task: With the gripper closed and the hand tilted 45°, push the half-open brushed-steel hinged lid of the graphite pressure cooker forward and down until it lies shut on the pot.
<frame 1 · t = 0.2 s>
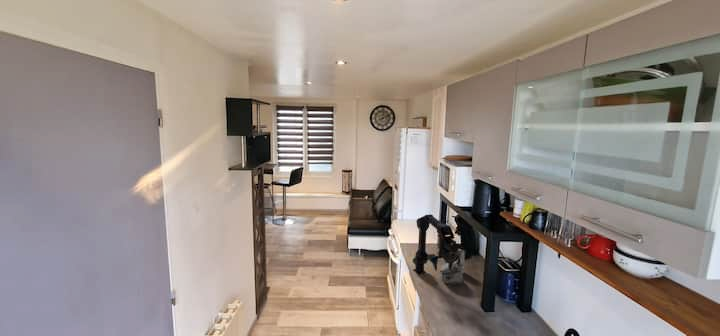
hand: (442, 270, 178), 14 cm above the countertop, tool pointing down, fingers open, 9 cm apart
cooker pot: (451, 281, 193), on the countertop
coffee box: (456, 271, 206), on the countertop
cooker lid: (448, 263, 193), point 12 cm above the countertop, hinge at 42.0°
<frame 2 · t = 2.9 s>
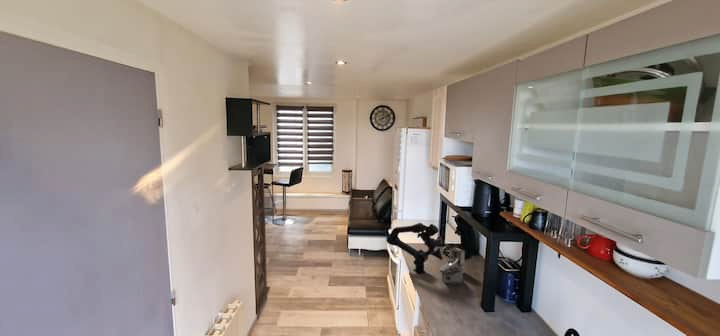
hand: (442, 259, 195), 13 cm above the countertop, tool tilted 45°, fingers closed
nothing on the countertop moved.
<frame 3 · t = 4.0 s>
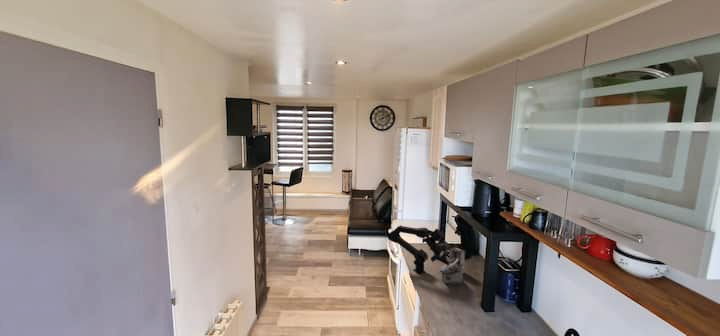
hand: (448, 264, 193), 11 cm above the countertop, tool tilted 45°, fingers closed, pressing on cooker lid
cooker lid: (448, 263, 193), point 12 cm above the countertop, hinge at 41.4°, touching gripper
everything else where it was.
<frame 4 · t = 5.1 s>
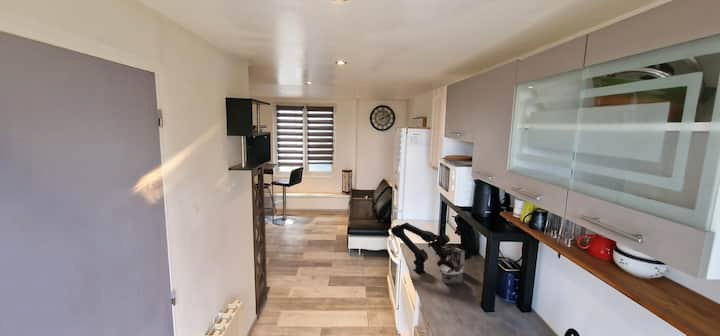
hand: (454, 269, 191), 9 cm above the countertop, tool tilted 45°, fingers closed
cooker lid: (451, 269, 192), point 9 cm above the countertop, hinge at 10.3°
everything else where it was.
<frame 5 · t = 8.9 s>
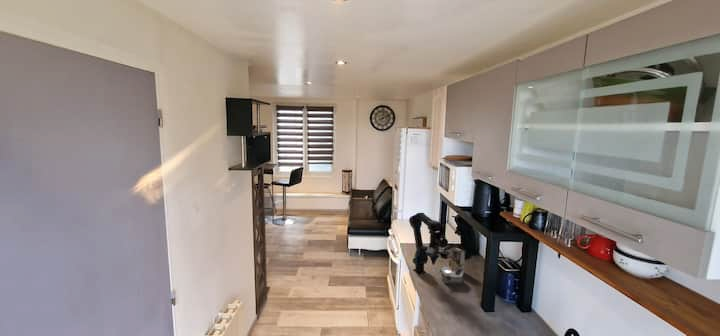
hand: (433, 264, 188), 13 cm above the countertop, tool pointing down, fingers closed
cooker lid: (452, 270, 192), point 7 cm above the countertop, hinge at 0.0°
everything else where it was.
at the end: cooker lid at +0° (first picture: +42°) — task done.
